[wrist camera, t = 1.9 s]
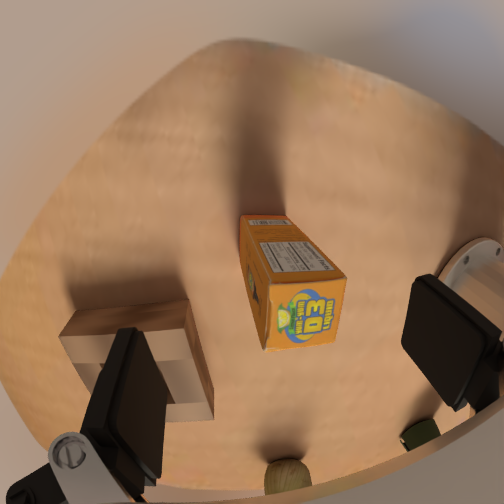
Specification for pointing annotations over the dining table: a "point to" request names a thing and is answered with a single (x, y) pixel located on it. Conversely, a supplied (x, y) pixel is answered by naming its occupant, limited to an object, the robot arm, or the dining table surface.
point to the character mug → (420, 434)
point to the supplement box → (289, 284)
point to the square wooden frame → (161, 345)
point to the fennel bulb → (286, 476)
